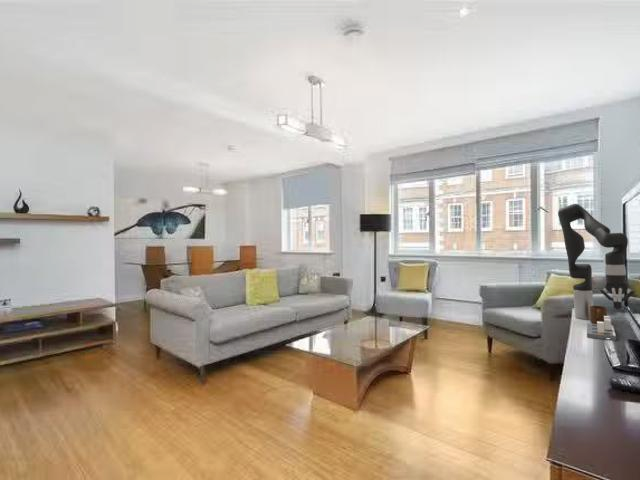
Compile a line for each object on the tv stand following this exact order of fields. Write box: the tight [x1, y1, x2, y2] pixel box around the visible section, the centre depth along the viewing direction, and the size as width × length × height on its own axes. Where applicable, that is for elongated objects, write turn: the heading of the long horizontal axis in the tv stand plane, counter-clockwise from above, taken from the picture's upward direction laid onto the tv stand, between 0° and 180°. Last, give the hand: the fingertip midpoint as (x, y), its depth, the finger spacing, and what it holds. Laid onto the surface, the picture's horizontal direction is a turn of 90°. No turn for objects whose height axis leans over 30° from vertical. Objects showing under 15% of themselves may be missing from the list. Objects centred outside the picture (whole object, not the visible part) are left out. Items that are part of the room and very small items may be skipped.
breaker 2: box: [604, 318, 612, 330], centre depth 171 cm, size 3×2×5 cm
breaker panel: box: [586, 322, 617, 341], centre depth 173 cm, size 24×11×2 cm, turn 141°
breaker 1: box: [597, 321, 604, 333], centre depth 167 cm, size 3×2×5 cm
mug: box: [589, 305, 608, 324], centre depth 190 cm, size 12×8×9 cm, turn 144°
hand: (617, 309), depth 163 cm, fingers closed
